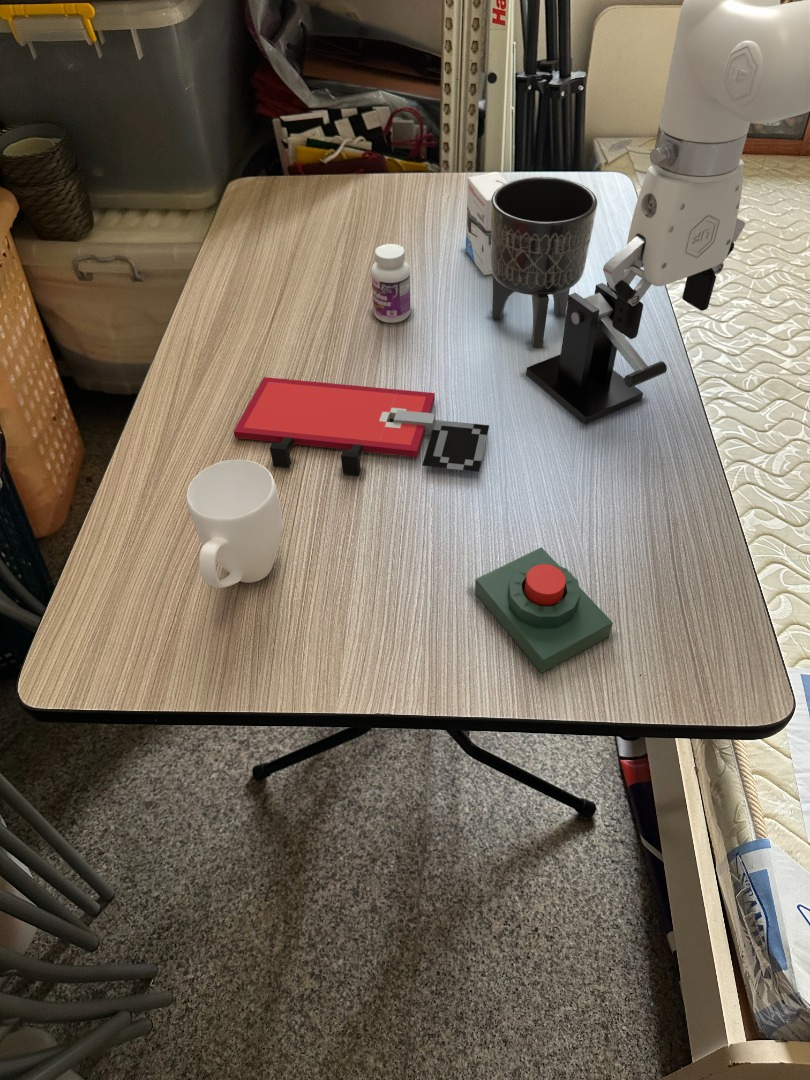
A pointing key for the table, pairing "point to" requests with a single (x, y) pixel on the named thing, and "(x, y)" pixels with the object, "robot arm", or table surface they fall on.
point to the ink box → (481, 218)
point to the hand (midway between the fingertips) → (659, 318)
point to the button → (545, 584)
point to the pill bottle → (391, 284)
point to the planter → (539, 243)
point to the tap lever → (625, 346)
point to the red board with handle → (357, 424)
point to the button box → (542, 613)
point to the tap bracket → (585, 365)
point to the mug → (235, 521)
